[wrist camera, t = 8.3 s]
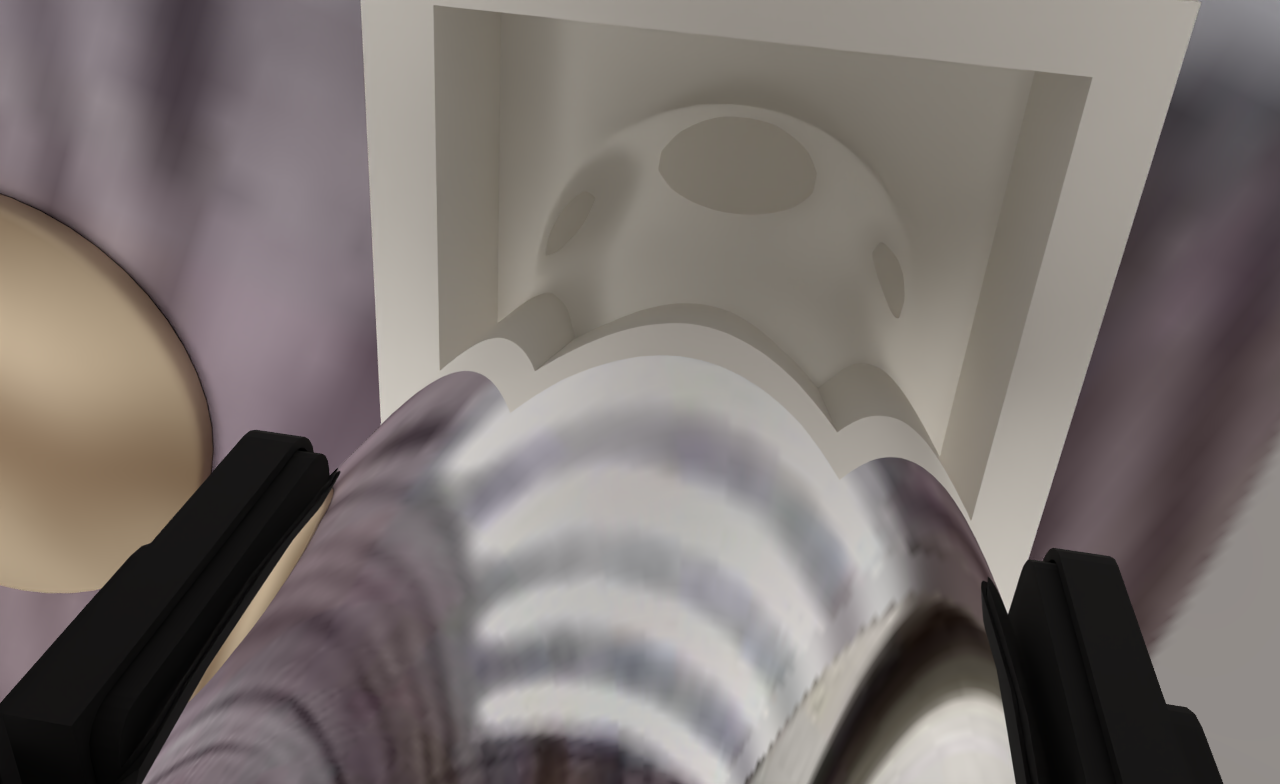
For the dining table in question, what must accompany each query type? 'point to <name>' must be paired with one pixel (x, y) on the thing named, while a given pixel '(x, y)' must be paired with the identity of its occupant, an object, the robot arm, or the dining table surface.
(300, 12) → the dining table surface
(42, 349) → the cork trivet
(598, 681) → the beer glass
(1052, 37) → the cream divided tray
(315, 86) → the dining table surface
